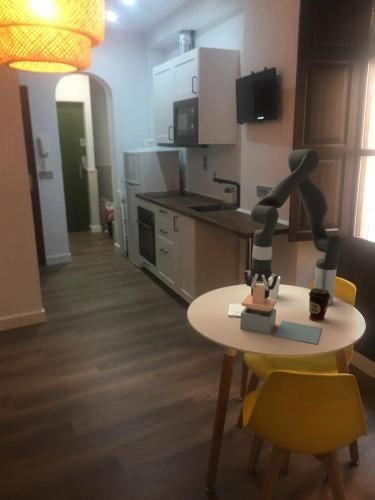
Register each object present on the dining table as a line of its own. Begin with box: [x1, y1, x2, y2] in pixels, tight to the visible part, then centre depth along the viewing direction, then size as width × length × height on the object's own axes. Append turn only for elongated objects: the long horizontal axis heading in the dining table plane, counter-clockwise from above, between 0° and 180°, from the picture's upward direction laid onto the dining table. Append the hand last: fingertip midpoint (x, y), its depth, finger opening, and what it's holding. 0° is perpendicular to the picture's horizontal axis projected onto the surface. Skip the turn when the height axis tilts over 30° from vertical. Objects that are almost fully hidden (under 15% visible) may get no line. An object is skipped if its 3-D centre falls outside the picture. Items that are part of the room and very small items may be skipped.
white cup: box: [268, 275, 281, 299], centre depth 200 cm, size 8×8×10 cm
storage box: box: [239, 307, 277, 336], centre depth 167 cm, size 10×12×7 cm
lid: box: [241, 283, 278, 312], centre depth 165 cm, size 10×12×8 cm
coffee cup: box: [308, 287, 330, 323], centre depth 174 cm, size 9×8×13 cm
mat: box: [273, 320, 322, 346], centre depth 164 cm, size 15×16×1 cm
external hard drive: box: [227, 303, 246, 319], centre depth 183 cm, size 2×8×12 cm
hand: (259, 297), depth 165 cm, fingers closed on lid, 4 cm apart
